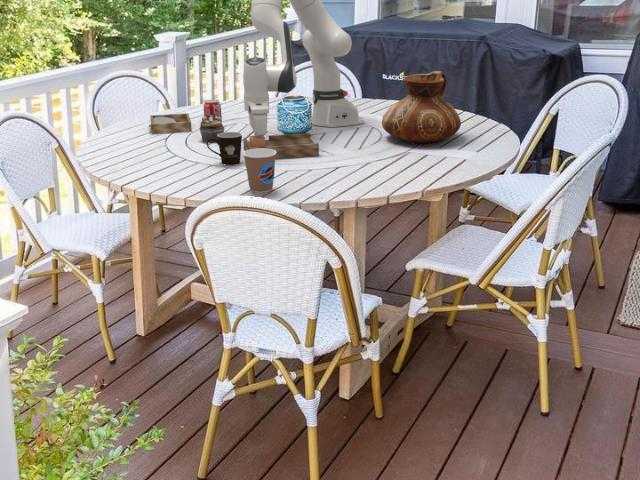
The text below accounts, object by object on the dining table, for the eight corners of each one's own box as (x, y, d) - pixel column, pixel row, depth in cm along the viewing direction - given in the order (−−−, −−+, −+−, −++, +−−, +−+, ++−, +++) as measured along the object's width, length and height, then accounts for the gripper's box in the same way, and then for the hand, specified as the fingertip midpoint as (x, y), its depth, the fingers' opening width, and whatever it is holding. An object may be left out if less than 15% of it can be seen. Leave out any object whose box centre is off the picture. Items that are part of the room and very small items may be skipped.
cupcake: (195, 142, 308) (193, 116, 305) (209, 136, 316) (208, 111, 313) (215, 144, 304) (214, 118, 300) (229, 139, 312) (228, 113, 308)
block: (263, 145, 288) (263, 135, 287) (265, 149, 284) (265, 138, 282) (249, 146, 288) (249, 135, 286) (251, 150, 283) (251, 139, 282)
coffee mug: (247, 160, 281) (245, 132, 278) (237, 166, 274) (235, 138, 270) (217, 158, 285) (215, 130, 281) (206, 164, 277) (204, 136, 274)
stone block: (175, 129, 338) (151, 125, 335) (176, 118, 337) (152, 114, 334) (177, 136, 328) (152, 133, 325) (178, 125, 326) (154, 121, 323)
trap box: (309, 144, 301) (309, 133, 300) (318, 155, 286) (318, 143, 284) (243, 149, 296) (243, 137, 295) (249, 160, 281) (249, 148, 279)
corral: (189, 122, 341) (188, 113, 339) (191, 131, 324) (191, 122, 323) (151, 124, 338) (150, 115, 336) (151, 134, 321) (150, 124, 320)
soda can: (223, 128, 330) (222, 99, 326) (220, 132, 323) (218, 102, 319) (207, 127, 331) (205, 99, 326) (203, 131, 324) (201, 102, 320)
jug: (450, 151, 289) (453, 82, 280) (371, 145, 299) (372, 78, 290) (466, 133, 315) (469, 69, 306) (392, 128, 325) (393, 66, 316)
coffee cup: (261, 196, 242) (259, 158, 238) (237, 190, 248) (235, 153, 244) (284, 188, 249) (283, 151, 245) (261, 182, 256) (260, 146, 251)
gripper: (244, 99, 294) (246, 136, 299) (251, 110, 275) (253, 149, 280) (261, 98, 295) (262, 135, 300) (269, 109, 276) (270, 148, 281)
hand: (258, 142), depth 290 cm, fingers closed
